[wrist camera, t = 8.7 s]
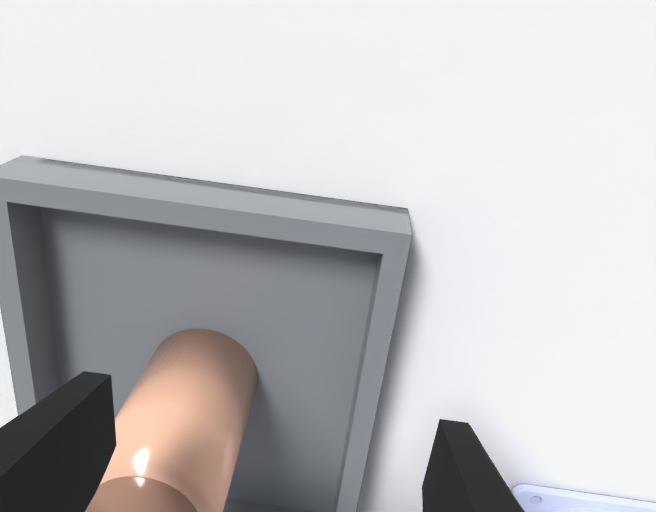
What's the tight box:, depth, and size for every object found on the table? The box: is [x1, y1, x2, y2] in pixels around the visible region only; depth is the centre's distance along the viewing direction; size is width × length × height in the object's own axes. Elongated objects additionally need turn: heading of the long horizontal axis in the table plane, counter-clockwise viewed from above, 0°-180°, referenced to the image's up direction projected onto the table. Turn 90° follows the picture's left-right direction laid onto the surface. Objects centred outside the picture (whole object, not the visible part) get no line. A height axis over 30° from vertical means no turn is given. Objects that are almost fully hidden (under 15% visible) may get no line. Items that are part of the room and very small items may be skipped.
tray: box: [0, 156, 412, 512], centre depth 22 cm, size 14×16×2 cm
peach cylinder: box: [85, 328, 258, 512], centre depth 19 cm, size 4×4×7 cm
